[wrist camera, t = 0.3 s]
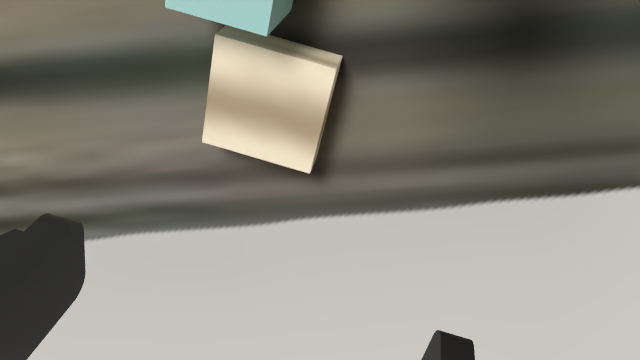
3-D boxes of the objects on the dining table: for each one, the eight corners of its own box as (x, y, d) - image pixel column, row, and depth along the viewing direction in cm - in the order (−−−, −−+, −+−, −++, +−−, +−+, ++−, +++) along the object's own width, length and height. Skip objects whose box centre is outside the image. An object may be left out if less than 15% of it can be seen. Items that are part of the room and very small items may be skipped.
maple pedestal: (230, 21, 37) (215, 34, 34) (343, 54, 37) (336, 69, 34) (216, 124, 41) (202, 142, 39) (317, 153, 41) (309, 173, 38)
